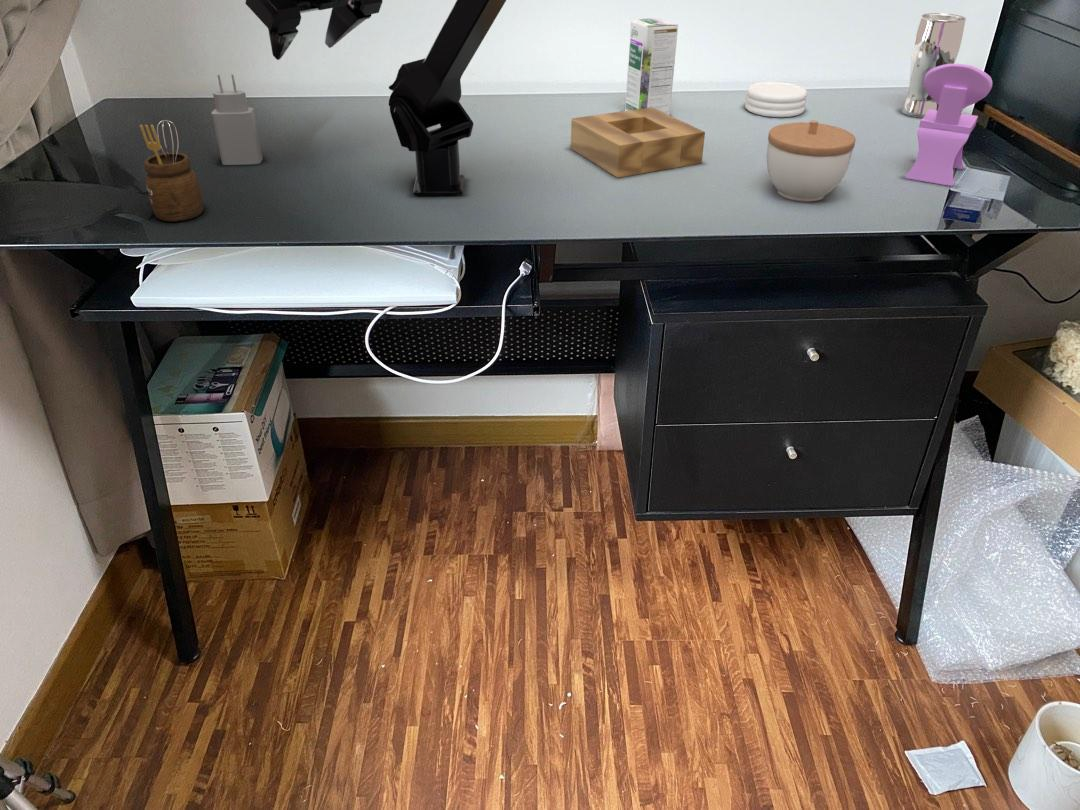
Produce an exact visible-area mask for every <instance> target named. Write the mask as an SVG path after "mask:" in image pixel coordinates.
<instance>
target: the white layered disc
mask: <svg viewBox="0 0 1080 810" xmlns="http://www.w3.org/2000/svg"><path fill="white" fill-rule="evenodd" d="M807 97H808V90H807V89H806V88H805V87H803V86H801V85H798V84H796V83H795V84H794V83H789V82H783V81H782V82H781V81H761V82H755V83H752V84H750V85H749V86H748V87H747V88H746V95H745V102H744V107H745V109H746V110H747V111H748V112H750V113H753V114H755V115H758V116H762V117H763V116H764V117H770V118H791V117H795V116H799V115H801V114H802V113H804V112H805V110H806V103H807Z"/></svg>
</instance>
